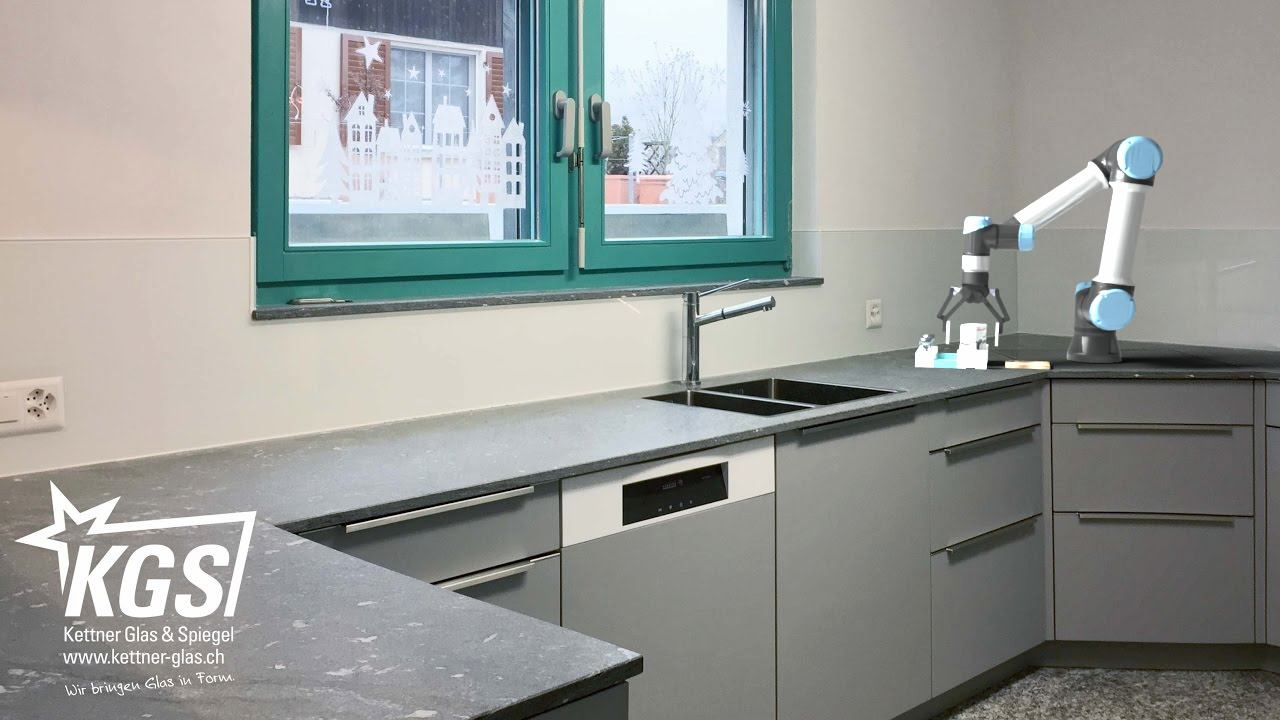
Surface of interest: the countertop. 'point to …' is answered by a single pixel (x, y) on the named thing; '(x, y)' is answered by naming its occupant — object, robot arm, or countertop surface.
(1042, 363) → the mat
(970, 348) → the ink box
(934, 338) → the plunger
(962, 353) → the housing
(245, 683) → the countertop surface
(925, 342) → the plunger
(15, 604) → the countertop surface
